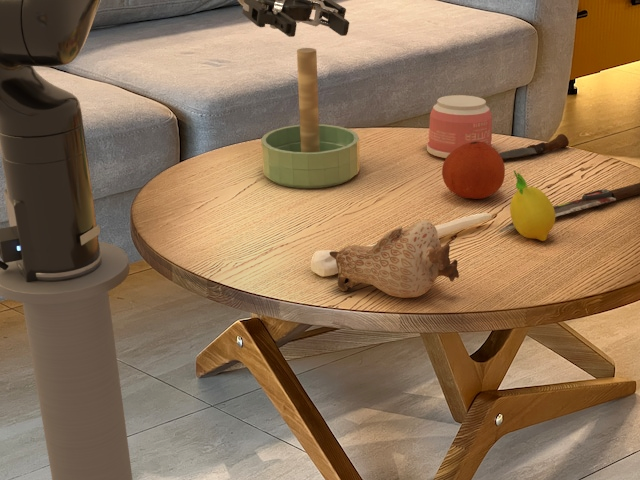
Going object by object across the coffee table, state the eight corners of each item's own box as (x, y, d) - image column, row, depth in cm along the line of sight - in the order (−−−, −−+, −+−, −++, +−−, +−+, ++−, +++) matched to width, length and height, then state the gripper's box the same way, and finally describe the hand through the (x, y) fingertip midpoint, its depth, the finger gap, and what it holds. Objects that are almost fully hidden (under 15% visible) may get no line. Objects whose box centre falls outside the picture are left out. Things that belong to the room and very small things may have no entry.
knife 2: (497, 240, 141) (659, 192, 157) (497, 226, 141) (659, 179, 156) (483, 234, 144) (644, 188, 159) (483, 221, 143) (645, 175, 158)
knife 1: (563, 132, 176) (578, 138, 172) (563, 145, 177) (578, 151, 173) (468, 146, 172) (481, 153, 167) (469, 159, 172) (481, 166, 168)
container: (418, 104, 168) (417, 155, 171) (484, 111, 164) (482, 162, 168) (440, 90, 177) (438, 139, 180) (502, 96, 174) (500, 145, 177)
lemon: (547, 235, 136) (517, 162, 137) (513, 252, 140) (483, 181, 141) (575, 228, 141) (546, 158, 142) (541, 245, 145) (512, 176, 146)
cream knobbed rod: (475, 215, 148) (474, 195, 147) (496, 222, 145) (495, 202, 144) (304, 271, 133) (302, 249, 132) (323, 280, 130) (321, 258, 129)
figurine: (456, 317, 125) (341, 306, 132) (475, 243, 129) (362, 236, 135) (430, 282, 118) (310, 272, 124) (451, 204, 121) (332, 199, 128)
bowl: (286, 196, 156) (284, 159, 154) (249, 167, 167) (246, 132, 165) (375, 179, 162) (375, 144, 160) (333, 152, 174) (333, 119, 171)
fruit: (450, 183, 161) (451, 130, 157) (509, 189, 158) (511, 135, 155) (433, 203, 153) (434, 148, 150) (495, 210, 151) (498, 154, 147)
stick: (303, 176, 162) (298, 55, 154) (291, 167, 165) (286, 48, 158) (330, 171, 164) (327, 51, 156) (318, 163, 167) (314, 45, 159)
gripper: (224, -36, 156) (279, 3, 146) (309, -34, 164) (367, 3, 154) (218, 15, 160) (271, 56, 150) (302, 14, 168) (358, 54, 158)
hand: (320, 29), depth 152 cm, fingers open, 8 cm apart
